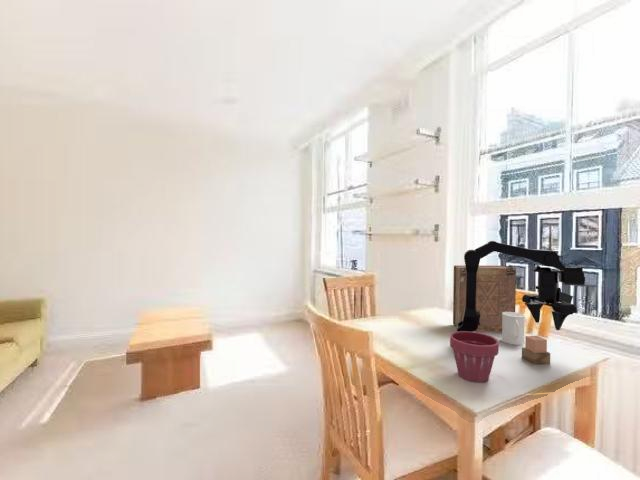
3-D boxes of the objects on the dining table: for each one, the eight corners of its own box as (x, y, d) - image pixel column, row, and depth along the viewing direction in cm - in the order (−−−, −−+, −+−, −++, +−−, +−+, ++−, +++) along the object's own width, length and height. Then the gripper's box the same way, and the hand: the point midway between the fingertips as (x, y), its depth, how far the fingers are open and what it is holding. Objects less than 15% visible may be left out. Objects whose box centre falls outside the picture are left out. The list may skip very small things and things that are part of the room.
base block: (534, 365, 111) (534, 354, 111) (521, 358, 117) (521, 347, 117) (550, 364, 112) (550, 353, 112) (536, 357, 118) (536, 346, 118)
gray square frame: (533, 368, 110) (533, 366, 110) (517, 358, 118) (517, 357, 118) (555, 366, 111) (555, 365, 111) (537, 357, 119) (537, 356, 119)
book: (459, 330, 152) (459, 267, 151) (452, 324, 161) (453, 265, 160) (515, 331, 149) (516, 267, 148) (505, 325, 158) (506, 265, 157)
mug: (528, 349, 127) (529, 319, 127) (504, 346, 130) (504, 317, 130) (522, 340, 138) (522, 312, 138) (500, 337, 141) (500, 310, 141)
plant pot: (506, 378, 103) (507, 339, 102) (484, 391, 95) (484, 348, 94) (464, 363, 115) (464, 328, 114) (441, 374, 106) (441, 336, 106)
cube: (534, 353, 112) (535, 340, 112) (525, 348, 116) (525, 336, 116) (546, 352, 112) (546, 339, 112) (536, 347, 117) (536, 335, 117)
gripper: (591, 288, 109) (590, 333, 110) (547, 279, 128) (546, 318, 128) (561, 289, 108) (561, 334, 108) (521, 280, 126) (520, 319, 127)
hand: (547, 326), depth 118 cm, fingers open, 9 cm apart
